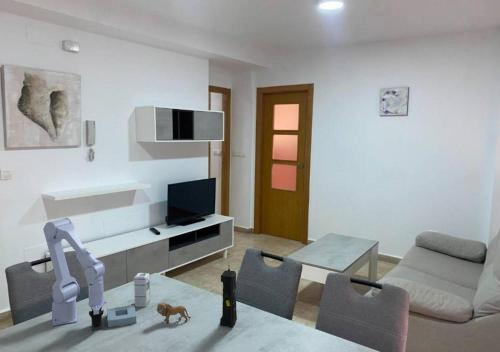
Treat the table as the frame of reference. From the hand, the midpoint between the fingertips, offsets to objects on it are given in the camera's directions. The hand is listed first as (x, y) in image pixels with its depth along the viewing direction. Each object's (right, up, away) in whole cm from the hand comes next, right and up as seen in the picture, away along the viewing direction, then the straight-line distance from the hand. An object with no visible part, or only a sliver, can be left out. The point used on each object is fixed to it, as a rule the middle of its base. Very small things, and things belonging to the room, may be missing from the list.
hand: (96, 323), depth 160 cm
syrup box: (+13, 0, +22) cm, 26 cm away
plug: (0, -2, 0) cm, 2 cm away
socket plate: (+8, -1, +8) cm, 11 cm away
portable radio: (+55, -3, +6) cm, 55 cm away
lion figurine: (+31, -2, +7) cm, 31 cm away
